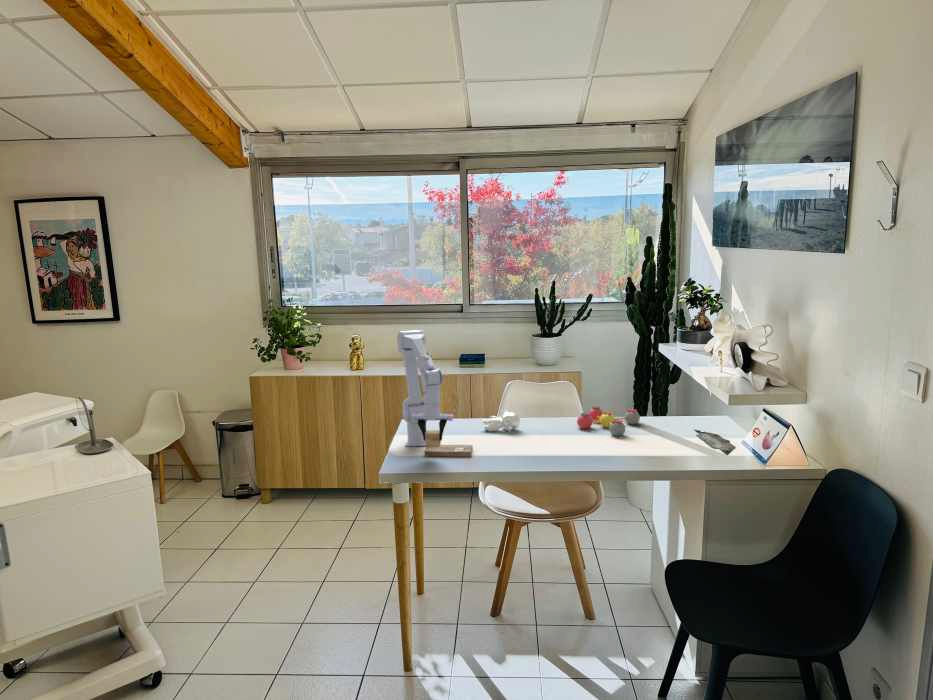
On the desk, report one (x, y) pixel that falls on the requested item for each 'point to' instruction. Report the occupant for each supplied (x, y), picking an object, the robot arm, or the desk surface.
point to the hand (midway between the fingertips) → (433, 439)
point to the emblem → (716, 441)
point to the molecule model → (607, 420)
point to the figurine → (502, 422)
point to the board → (449, 450)
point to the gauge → (432, 438)
